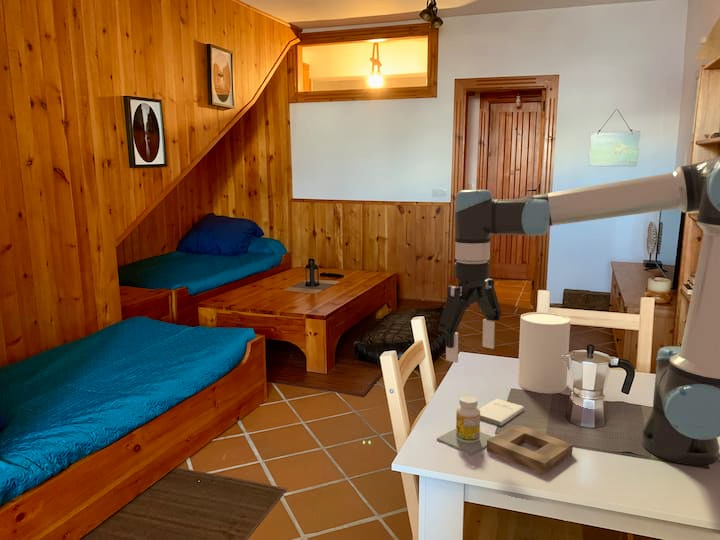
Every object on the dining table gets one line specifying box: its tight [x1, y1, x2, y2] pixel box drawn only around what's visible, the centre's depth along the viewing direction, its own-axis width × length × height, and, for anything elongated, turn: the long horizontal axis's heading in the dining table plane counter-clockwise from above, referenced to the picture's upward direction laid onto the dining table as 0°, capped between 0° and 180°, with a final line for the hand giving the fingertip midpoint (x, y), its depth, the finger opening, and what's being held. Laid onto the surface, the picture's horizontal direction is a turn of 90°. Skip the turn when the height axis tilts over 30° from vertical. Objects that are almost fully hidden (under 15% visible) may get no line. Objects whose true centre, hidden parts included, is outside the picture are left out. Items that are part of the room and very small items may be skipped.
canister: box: [517, 311, 571, 394], centre depth 163 cm, size 14×14×20 cm
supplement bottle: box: [455, 395, 481, 443], centre depth 130 cm, size 5×5×10 cm
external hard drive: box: [479, 398, 525, 427], centre depth 145 cm, size 2×8×12 cm
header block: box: [486, 423, 574, 475], centre depth 125 cm, size 14×12×2 cm
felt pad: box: [436, 428, 493, 456], centre depth 131 cm, size 10×10×1 cm
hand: (470, 354), depth 127 cm, fingers open, 13 cm apart
